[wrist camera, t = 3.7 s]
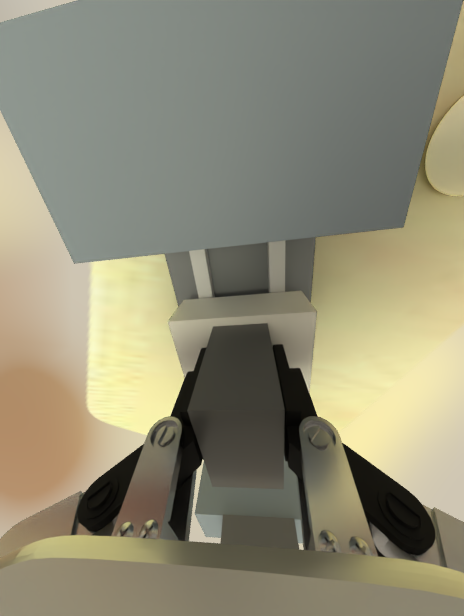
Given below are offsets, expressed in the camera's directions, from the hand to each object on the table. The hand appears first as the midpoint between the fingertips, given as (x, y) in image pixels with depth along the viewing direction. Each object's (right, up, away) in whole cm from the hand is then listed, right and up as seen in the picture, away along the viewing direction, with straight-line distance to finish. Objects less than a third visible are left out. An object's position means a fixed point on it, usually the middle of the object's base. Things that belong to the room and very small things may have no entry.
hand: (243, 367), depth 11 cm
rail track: (+1, 0, +7) cm, 7 cm away
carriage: (0, +2, +3) cm, 4 cm away
